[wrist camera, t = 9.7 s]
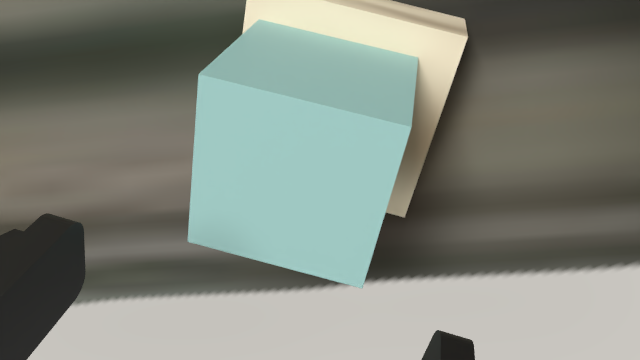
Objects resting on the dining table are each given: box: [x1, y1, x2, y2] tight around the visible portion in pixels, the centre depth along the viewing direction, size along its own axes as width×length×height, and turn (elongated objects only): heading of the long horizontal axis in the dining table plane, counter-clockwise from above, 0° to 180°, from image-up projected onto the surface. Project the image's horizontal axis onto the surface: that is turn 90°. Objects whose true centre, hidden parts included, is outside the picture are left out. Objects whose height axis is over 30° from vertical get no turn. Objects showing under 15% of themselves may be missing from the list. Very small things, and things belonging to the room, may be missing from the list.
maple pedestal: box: [243, 0, 468, 218], centre depth 23 cm, size 8×8×3 cm
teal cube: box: [188, 19, 418, 288], centre depth 19 cm, size 6×6×6 cm
